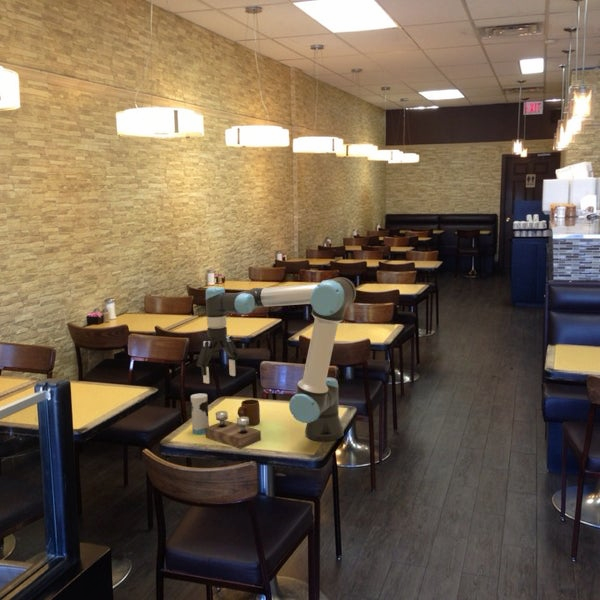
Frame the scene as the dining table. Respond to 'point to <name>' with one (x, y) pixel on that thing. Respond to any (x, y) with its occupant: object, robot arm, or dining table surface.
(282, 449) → the dining table surface
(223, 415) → the far knob
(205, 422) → the cup
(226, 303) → the robot arm
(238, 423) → the near knob
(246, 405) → the mug
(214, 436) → the mount block
